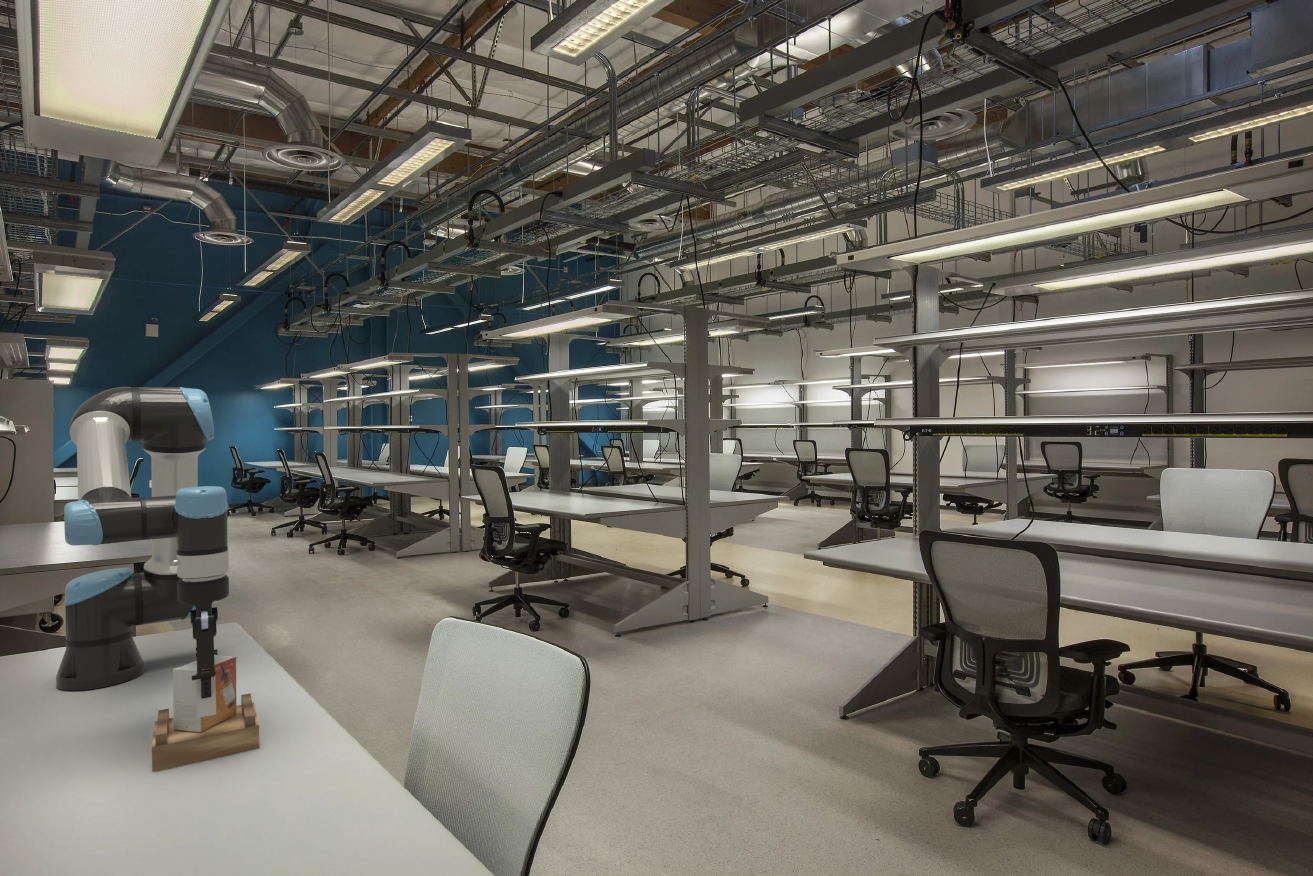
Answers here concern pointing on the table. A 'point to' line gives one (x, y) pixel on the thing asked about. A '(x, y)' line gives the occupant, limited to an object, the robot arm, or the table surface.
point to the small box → (188, 700)
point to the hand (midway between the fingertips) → (206, 704)
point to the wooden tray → (204, 738)
